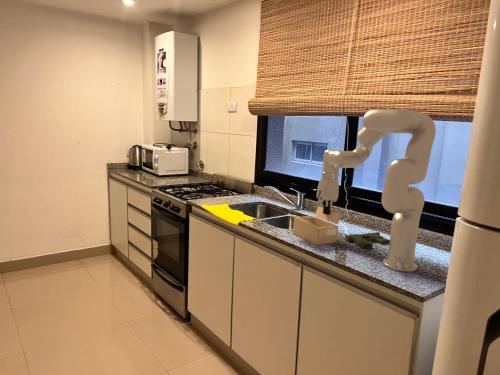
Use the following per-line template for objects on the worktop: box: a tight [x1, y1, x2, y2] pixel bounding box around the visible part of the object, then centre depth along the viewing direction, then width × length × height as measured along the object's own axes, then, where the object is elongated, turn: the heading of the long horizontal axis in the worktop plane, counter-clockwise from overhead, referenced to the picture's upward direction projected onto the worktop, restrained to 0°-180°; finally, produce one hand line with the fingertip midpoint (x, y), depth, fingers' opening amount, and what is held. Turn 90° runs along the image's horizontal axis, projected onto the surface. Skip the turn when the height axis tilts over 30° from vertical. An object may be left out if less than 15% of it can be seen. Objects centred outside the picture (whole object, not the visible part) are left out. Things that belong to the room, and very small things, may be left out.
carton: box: [292, 215, 339, 246], centre depth 175 cm, size 19×12×8 cm, turn 28°
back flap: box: [314, 206, 343, 225], centre depth 177 cm, size 16×5×1 cm
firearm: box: [344, 231, 390, 250], centre depth 175 cm, size 3×24×15 cm
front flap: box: [287, 212, 317, 227], centre depth 170 cm, size 16×5×1 cm, turn 28°
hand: (326, 214), depth 176 cm, fingers closed
